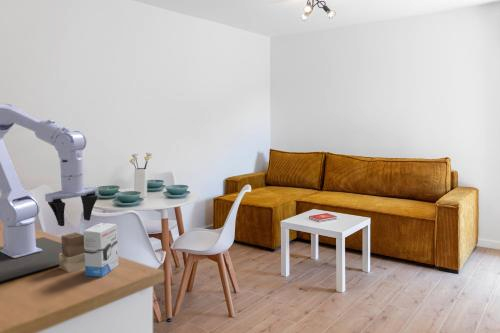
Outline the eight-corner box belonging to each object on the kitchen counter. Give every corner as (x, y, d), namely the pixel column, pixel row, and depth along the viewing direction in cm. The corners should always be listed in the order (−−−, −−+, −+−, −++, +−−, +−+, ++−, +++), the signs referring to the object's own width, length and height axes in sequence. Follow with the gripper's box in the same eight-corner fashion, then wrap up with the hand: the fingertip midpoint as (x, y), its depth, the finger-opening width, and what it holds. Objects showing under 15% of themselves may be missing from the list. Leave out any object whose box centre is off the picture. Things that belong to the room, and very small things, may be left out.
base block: (59, 268, 107) (58, 253, 107) (77, 262, 111) (76, 249, 110) (69, 272, 104) (68, 258, 103) (87, 267, 108) (86, 253, 107)
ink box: (102, 277, 101) (100, 232, 99) (84, 276, 102) (82, 231, 100) (119, 265, 109) (117, 223, 108) (103, 263, 110) (101, 222, 108)
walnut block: (62, 254, 106) (61, 235, 106) (76, 250, 110) (75, 232, 109) (70, 257, 104) (69, 238, 103) (84, 253, 107) (83, 235, 107)
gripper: (53, 179, 103) (56, 230, 105) (103, 173, 115) (105, 219, 116) (40, 177, 107) (43, 226, 109) (90, 171, 119) (92, 215, 121)
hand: (74, 222), depth 113 cm, fingers open, 7 cm apart
